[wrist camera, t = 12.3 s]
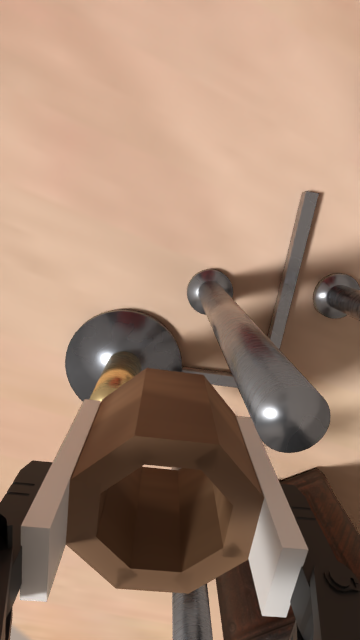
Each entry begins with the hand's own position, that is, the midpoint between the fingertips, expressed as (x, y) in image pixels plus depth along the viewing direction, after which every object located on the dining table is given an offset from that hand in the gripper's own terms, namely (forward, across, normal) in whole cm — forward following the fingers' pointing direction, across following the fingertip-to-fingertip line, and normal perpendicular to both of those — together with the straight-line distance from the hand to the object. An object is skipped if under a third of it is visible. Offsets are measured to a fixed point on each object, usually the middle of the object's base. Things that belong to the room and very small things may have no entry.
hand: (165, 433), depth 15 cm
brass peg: (+8, -3, 0) cm, 8 cm away
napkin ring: (0, 0, 0) cm, 0 cm away
